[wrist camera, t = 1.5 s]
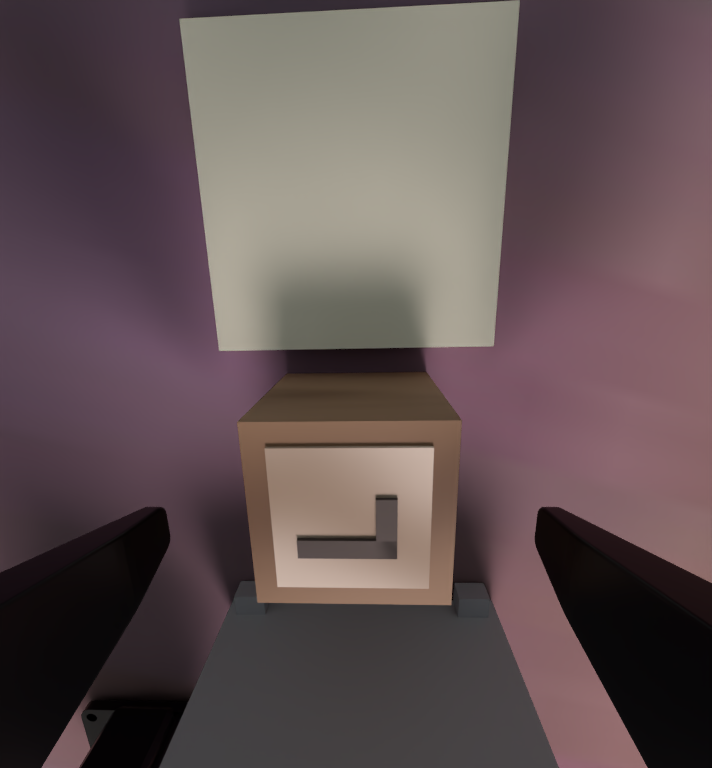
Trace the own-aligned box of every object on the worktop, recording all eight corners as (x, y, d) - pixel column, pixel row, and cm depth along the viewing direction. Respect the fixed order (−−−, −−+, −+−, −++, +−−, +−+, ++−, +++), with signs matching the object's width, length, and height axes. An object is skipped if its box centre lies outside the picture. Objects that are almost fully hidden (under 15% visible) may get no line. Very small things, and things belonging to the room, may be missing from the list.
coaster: (485, 343, 12) (493, 346, 11) (228, 347, 12) (219, 350, 12) (507, 23, 10) (519, 0, 9) (193, 39, 10) (179, 18, 9)
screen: (488, 640, 15) (584, 916, 8) (239, 636, 16) (141, 896, 9) (493, 582, 15) (602, 835, 8) (231, 580, 15) (118, 818, 8)
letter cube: (422, 495, 14) (452, 611, 9) (296, 495, 14) (255, 609, 9) (425, 371, 13) (464, 423, 7) (287, 373, 13) (233, 425, 8)
